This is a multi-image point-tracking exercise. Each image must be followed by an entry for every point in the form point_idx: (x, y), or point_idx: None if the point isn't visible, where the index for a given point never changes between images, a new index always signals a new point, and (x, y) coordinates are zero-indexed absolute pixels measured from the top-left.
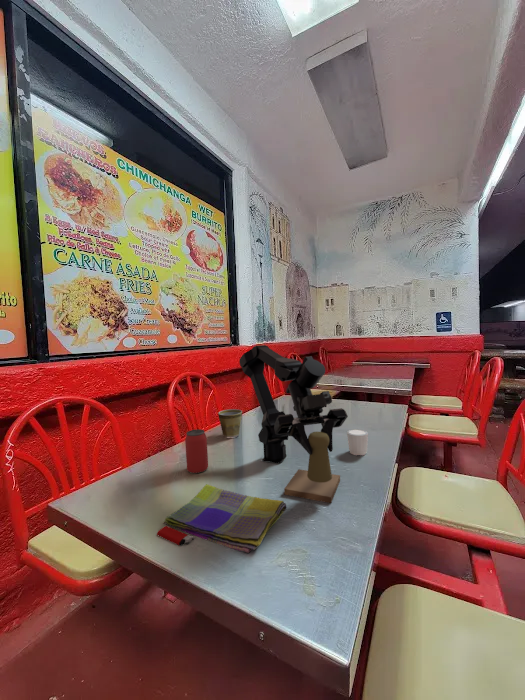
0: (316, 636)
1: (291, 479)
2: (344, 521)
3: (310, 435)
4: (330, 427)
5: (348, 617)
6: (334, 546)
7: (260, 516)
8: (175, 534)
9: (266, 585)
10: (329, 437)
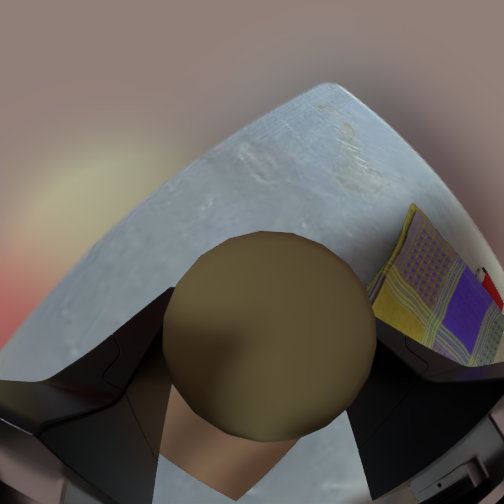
0: (350, 98)
1: (289, 448)
2: (224, 219)
3: (374, 337)
4: (67, 391)
5: (315, 94)
6: (285, 167)
7: (408, 286)
8: (492, 287)
9: (394, 156)
10: (147, 332)
